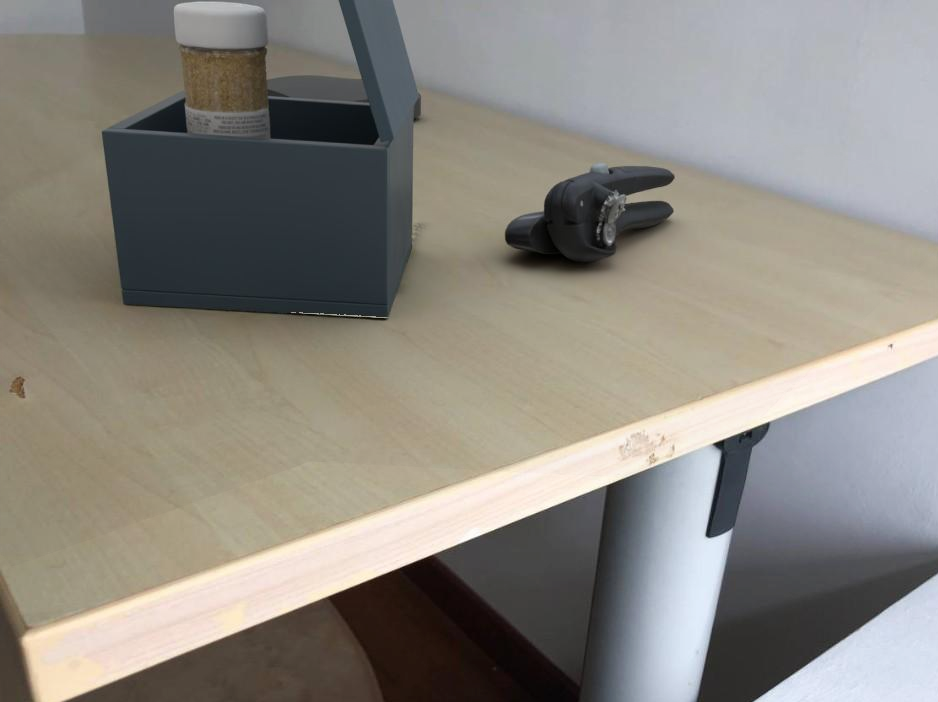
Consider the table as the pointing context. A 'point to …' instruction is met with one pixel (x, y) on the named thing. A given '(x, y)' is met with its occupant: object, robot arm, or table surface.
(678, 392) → the table surface
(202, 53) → the sprinkles bottle
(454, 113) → the table surface
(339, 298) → the bin
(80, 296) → the table surface
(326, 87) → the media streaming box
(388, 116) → the bin lid
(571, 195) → the can opener
